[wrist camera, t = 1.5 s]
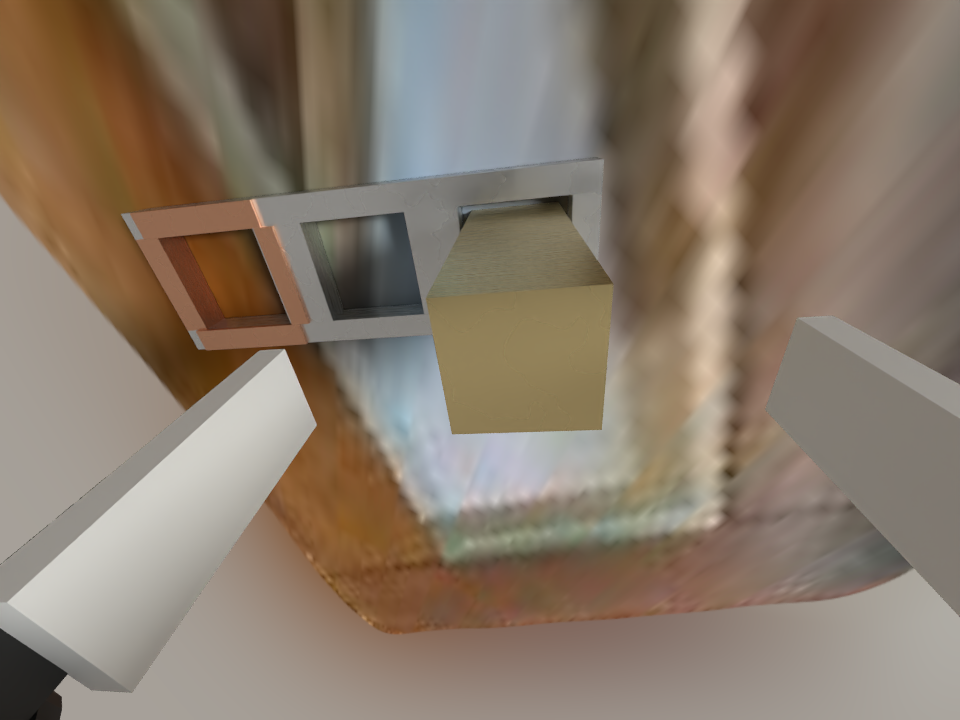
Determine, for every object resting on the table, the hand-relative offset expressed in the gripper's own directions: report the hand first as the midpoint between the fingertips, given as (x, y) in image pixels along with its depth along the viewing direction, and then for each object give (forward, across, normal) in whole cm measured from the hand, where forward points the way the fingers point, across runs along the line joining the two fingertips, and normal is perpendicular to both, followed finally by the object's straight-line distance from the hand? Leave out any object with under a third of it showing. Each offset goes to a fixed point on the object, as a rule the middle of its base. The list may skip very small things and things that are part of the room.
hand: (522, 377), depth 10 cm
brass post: (+12, 0, 0) cm, 12 cm away
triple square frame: (+12, -8, 0) cm, 14 cm away
